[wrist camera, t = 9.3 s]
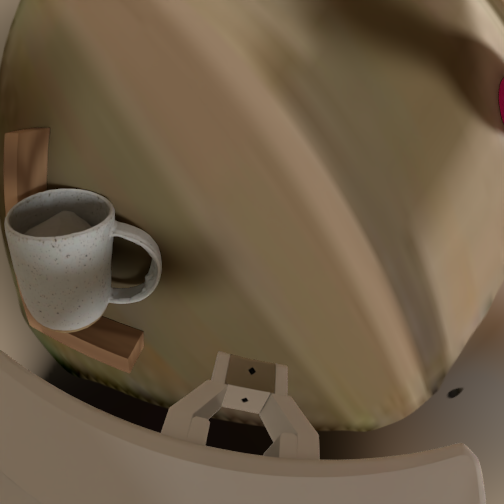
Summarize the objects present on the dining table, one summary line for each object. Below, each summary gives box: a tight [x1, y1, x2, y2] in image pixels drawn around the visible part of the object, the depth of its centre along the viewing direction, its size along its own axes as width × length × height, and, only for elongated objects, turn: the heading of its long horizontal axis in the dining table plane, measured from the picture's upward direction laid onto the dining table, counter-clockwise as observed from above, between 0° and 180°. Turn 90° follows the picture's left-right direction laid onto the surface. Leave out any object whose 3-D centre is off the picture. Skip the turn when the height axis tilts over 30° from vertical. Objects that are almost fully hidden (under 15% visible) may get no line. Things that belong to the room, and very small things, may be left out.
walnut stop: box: [4, 128, 144, 373], centre depth 17 cm, size 18×12×4 cm, turn 166°
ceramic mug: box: [4, 189, 162, 333], centre depth 15 cm, size 11×8×8 cm
